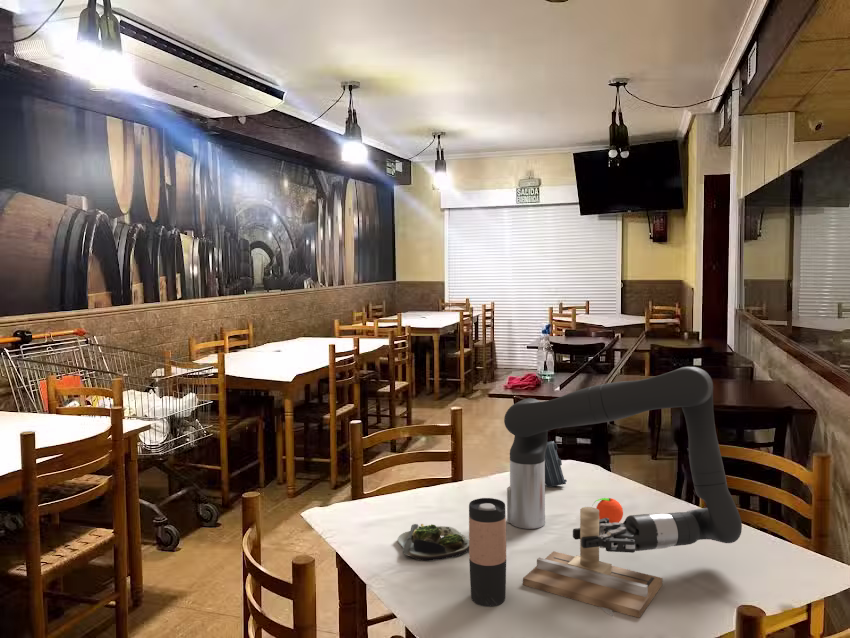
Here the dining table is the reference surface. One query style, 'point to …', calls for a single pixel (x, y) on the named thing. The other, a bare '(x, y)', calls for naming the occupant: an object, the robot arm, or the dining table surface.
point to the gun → (553, 466)
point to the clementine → (610, 509)
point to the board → (594, 584)
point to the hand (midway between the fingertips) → (577, 538)
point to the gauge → (591, 555)
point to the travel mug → (487, 551)
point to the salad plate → (433, 542)
